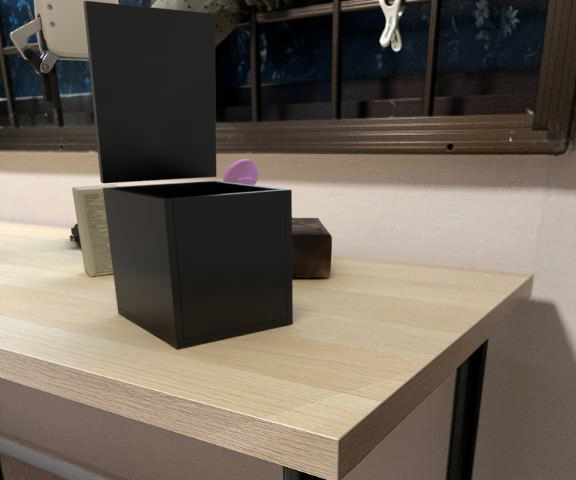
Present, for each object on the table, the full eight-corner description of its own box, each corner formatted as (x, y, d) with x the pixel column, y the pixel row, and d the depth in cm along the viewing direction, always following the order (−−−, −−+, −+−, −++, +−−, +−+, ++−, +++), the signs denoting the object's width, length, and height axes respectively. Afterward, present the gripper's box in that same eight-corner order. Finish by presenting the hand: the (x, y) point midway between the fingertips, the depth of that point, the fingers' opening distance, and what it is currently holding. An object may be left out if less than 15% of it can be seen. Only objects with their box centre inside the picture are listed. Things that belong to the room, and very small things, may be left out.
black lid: (214, 13, 64) (190, 15, 68) (85, 0, 57) (67, 4, 61) (216, 176, 71) (194, 170, 75) (103, 183, 64) (85, 175, 68)
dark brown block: (320, 253, 102) (320, 212, 99) (333, 279, 84) (334, 231, 82) (272, 254, 101) (272, 213, 99) (275, 281, 84) (274, 232, 81)
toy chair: (231, 248, 107) (227, 157, 102) (271, 252, 103) (269, 158, 97) (199, 255, 101) (192, 159, 95) (240, 261, 96) (236, 160, 91)
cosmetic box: (124, 267, 93) (115, 184, 89) (133, 272, 90) (123, 186, 85) (82, 271, 91) (70, 186, 86) (89, 277, 87) (77, 188, 82)
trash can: (293, 324, 65) (291, 189, 60) (177, 349, 58) (164, 199, 53) (221, 294, 77) (215, 180, 72) (117, 313, 70) (102, 187, 65)
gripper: (127, -31, 82) (142, 109, 88) (-11, -48, 73) (16, 109, 79) (150, -43, 76) (163, 107, 83) (2, -64, 67) (30, 107, 74)
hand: (91, 108), depth 81 cm, fingers open, 9 cm apart
